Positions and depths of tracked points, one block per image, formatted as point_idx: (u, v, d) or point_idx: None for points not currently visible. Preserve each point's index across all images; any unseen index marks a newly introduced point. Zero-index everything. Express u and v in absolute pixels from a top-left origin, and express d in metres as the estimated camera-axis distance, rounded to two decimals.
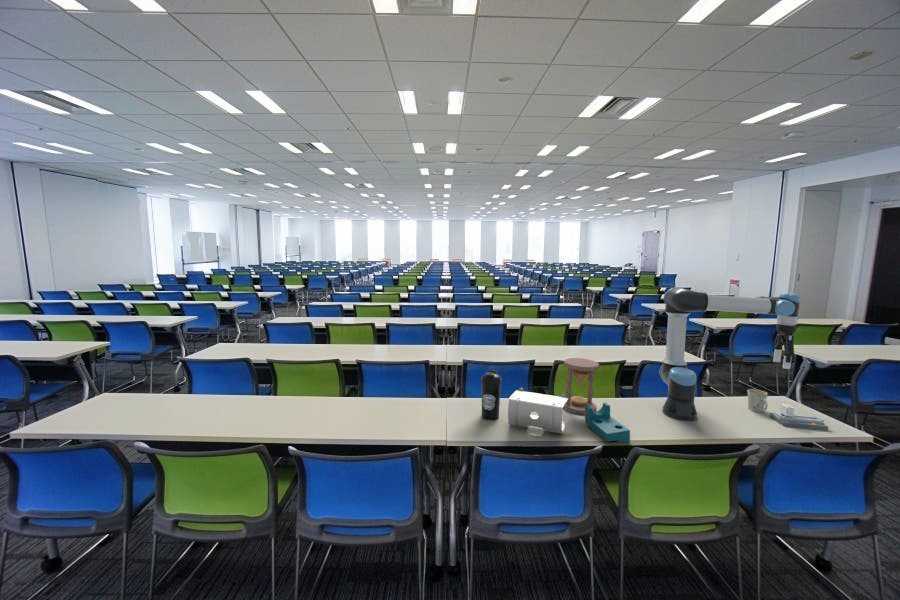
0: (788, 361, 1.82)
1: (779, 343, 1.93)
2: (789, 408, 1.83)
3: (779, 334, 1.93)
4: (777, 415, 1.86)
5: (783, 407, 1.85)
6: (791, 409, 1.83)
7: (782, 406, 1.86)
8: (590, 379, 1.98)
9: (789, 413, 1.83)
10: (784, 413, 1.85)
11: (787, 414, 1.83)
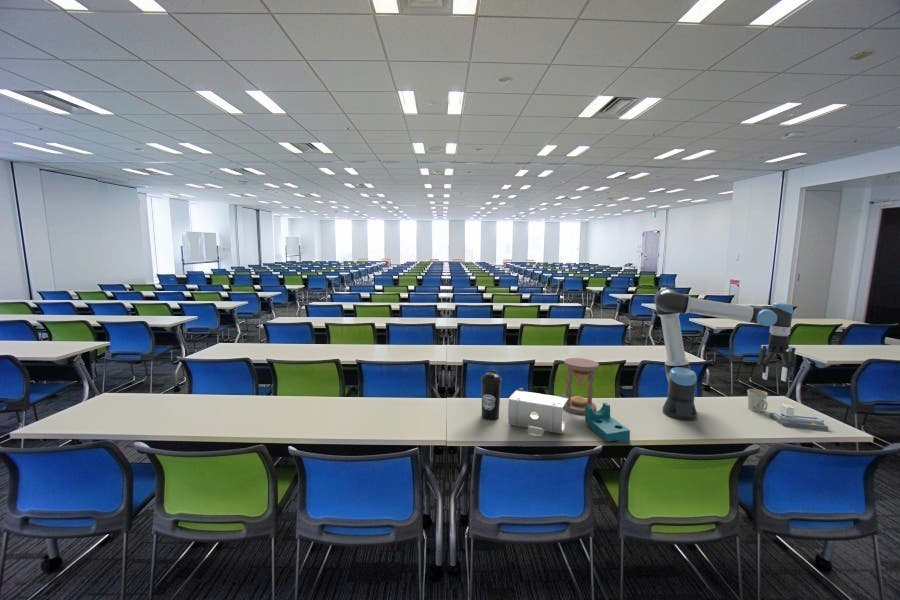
0: (762, 371, 1.86)
1: (782, 357, 1.84)
2: (789, 408, 1.83)
3: None
4: (777, 415, 1.86)
5: (783, 407, 1.85)
6: (791, 409, 1.83)
7: (782, 406, 1.86)
8: (590, 379, 1.98)
9: (789, 413, 1.83)
10: (784, 413, 1.85)
11: (787, 414, 1.83)
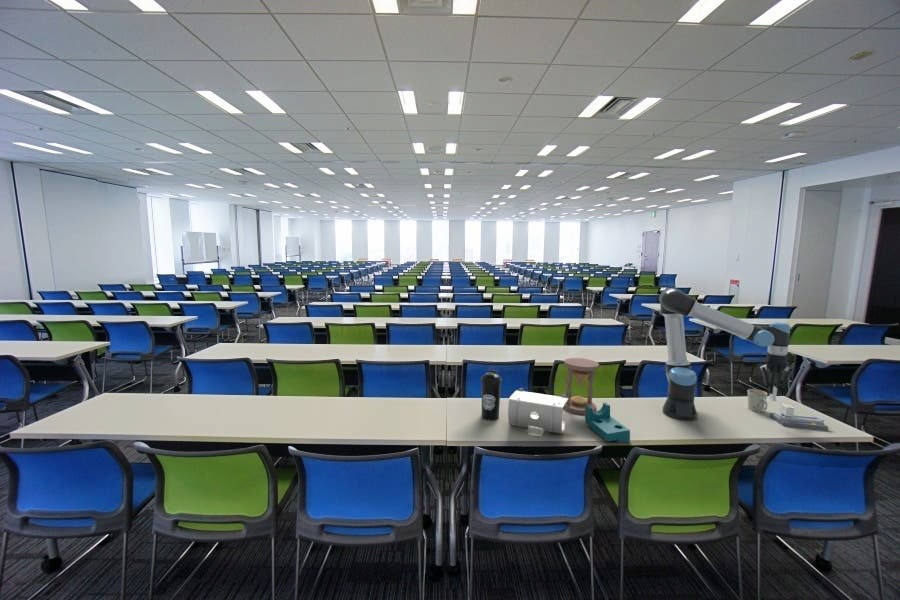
0: (768, 391, 1.86)
1: (775, 376, 1.85)
2: (789, 408, 1.83)
3: None
4: (777, 415, 1.86)
5: (783, 407, 1.85)
6: (791, 409, 1.83)
7: (782, 406, 1.86)
8: (590, 379, 1.98)
9: (789, 413, 1.83)
10: (784, 413, 1.85)
11: (787, 414, 1.83)
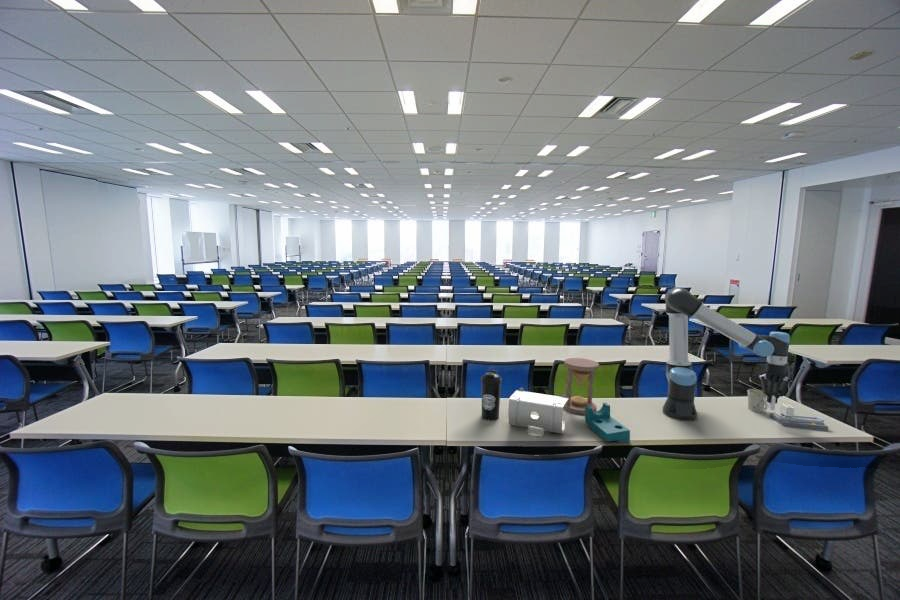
0: (767, 401, 1.87)
1: (774, 386, 1.86)
2: (789, 408, 1.83)
3: None
4: (777, 415, 1.86)
5: (783, 407, 1.85)
6: (791, 409, 1.83)
7: (782, 406, 1.86)
8: (590, 379, 1.98)
9: (789, 413, 1.83)
10: (784, 413, 1.85)
11: (787, 414, 1.83)
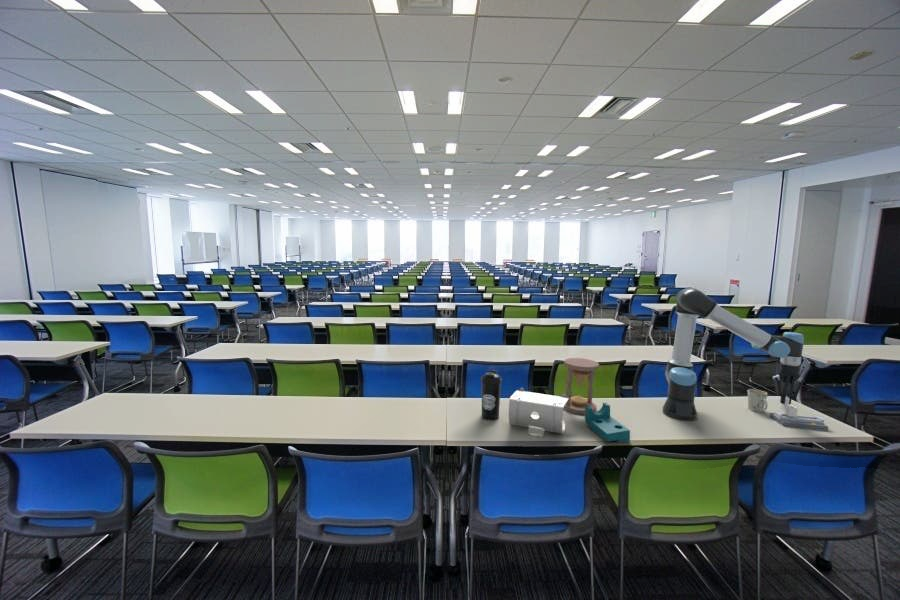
0: (781, 402, 1.85)
1: (788, 386, 1.84)
2: (792, 408, 1.82)
3: None
4: (777, 415, 1.86)
5: None
6: (794, 409, 1.82)
7: None
8: (590, 379, 1.98)
9: (792, 413, 1.83)
10: (787, 413, 1.84)
11: (790, 414, 1.83)
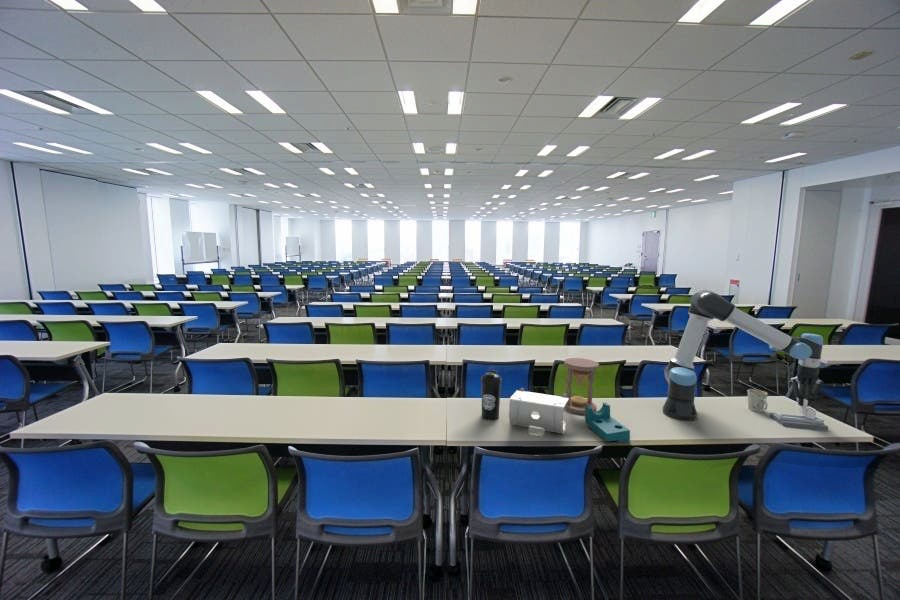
0: (799, 404, 1.84)
1: (806, 388, 1.83)
2: (811, 410, 1.81)
3: None
4: (777, 415, 1.86)
5: None
6: (813, 411, 1.80)
7: None
8: (590, 379, 1.98)
9: (811, 415, 1.81)
10: (805, 415, 1.82)
11: (809, 416, 1.81)
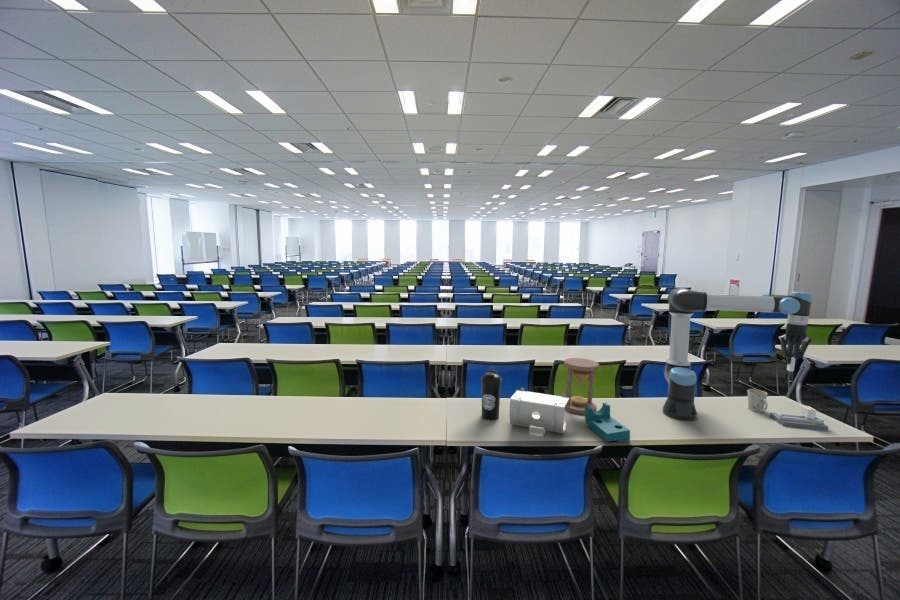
0: (786, 362, 1.84)
1: (794, 347, 1.83)
2: (811, 410, 1.81)
3: None
4: (777, 415, 1.86)
5: (804, 409, 1.83)
6: (813, 411, 1.80)
7: (803, 408, 1.84)
8: (590, 379, 1.98)
9: (811, 415, 1.81)
10: (805, 415, 1.82)
11: (809, 416, 1.81)
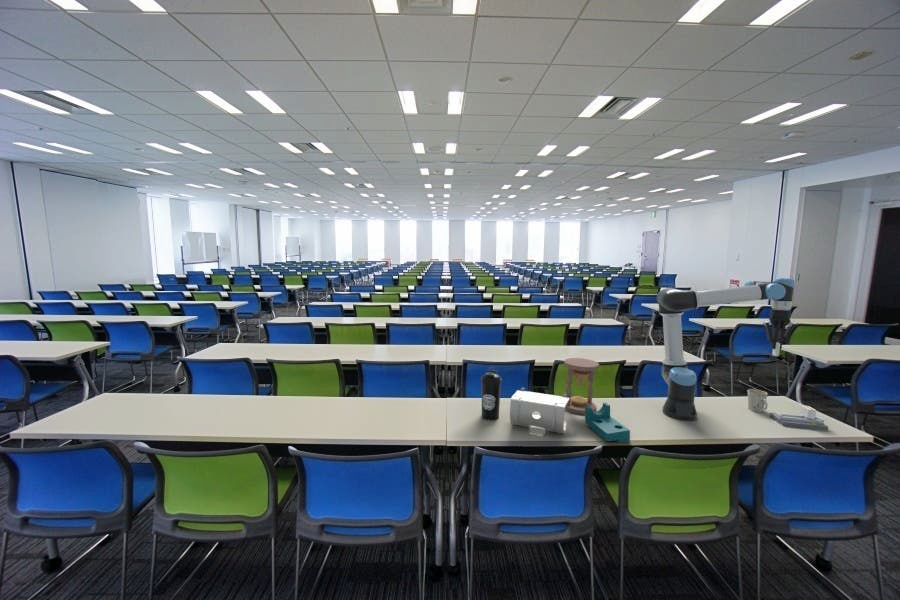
0: (772, 347, 1.88)
1: (779, 332, 1.87)
2: (811, 410, 1.81)
3: None
4: (777, 415, 1.86)
5: (804, 409, 1.83)
6: (813, 411, 1.80)
7: (803, 408, 1.84)
8: (590, 379, 1.98)
9: (811, 415, 1.81)
10: (805, 415, 1.82)
11: (809, 416, 1.81)
